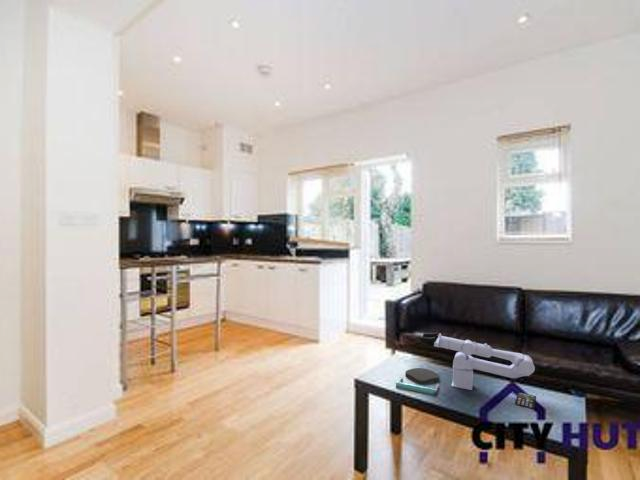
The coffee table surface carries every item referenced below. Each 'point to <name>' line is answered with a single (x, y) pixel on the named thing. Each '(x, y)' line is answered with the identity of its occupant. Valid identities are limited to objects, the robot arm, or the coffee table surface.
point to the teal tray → (416, 387)
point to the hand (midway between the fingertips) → (421, 337)
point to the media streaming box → (422, 375)
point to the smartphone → (525, 400)
